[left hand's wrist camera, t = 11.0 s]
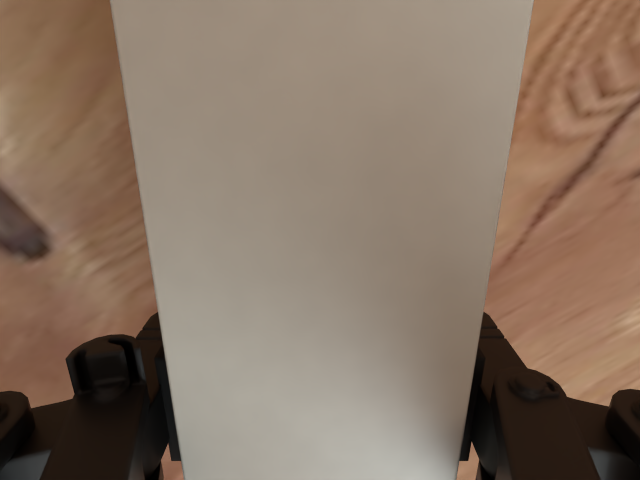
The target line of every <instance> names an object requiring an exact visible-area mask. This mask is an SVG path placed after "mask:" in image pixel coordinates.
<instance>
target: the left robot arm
mask: <svg viewBox="0 0 640 480" xmlns="http://www.w3.org/2000/svg"><path fill="white" fill-rule="evenodd" d="M66 363H67V367H68V370H69V374H70V378H71V382H72V386H73V389H74V393H75V394H74V397H73V399H70V400H66V401H63V402H59V403H54V404H49V405H45V406H40V407H35V408H31V407H30V404H29V400H28V397H26V396H25V395H24V394H23V393H21V392H15V391H5V392H0V480H163V479H164V476H163V470H162V464H161V459H162V456H163V454H164V451H165V449H166V447H167V444H168V443H169V449H170V455H171V461H181V456H180V450H179V443H178V437H177V430H176V424H175V417H174V411H173V405H172V398H171V392H170V385H169V379H168V372H167V366H166V359H165V353H164V347H163V340H162V334H161V327H160V321H159V314H158V312H157V313H156V314H154V315H153V316H151V317H150V318H149V320H148V321H147V323H146V324H145V325H144V327H143V330H141V331H140V332H139V334H138V335H137V337H136V339H135V338H134V337H132V336H128V335H124V334H119V335H107V336H103V337H98V338H95V339H93V340H90V341H88V342H86V343H83V344H82V345H80V346H79V347H77V348H76V349H74V350H73V351H72V352H71V353H70V354H69V355H68V357H67V358H66ZM471 441H472V443H473V445H474V448H475V450H476V453H477V455H478V457H479V464H478V469H477V475H476V480H640V390H634V389H626V390H620V391H618V392H616V393H615V394H614V395H613V396H612V399H611V402H610V405H609V407H608V406H603V405H599V404H594V403H589V402H585V401H580V400H576V399H573V398H569V397H567V396H566V394H565V392H564V391H563V389H562V388H561V386H560V385H559V384H558V383H556V382H555V381H554V380H553V379H551V378H550V377H549V376H546V375H544V374H542V373H540V372H538V371H536V370H532V369H528V368H527V367H526V366H525V364H524V363H523V362H522V360H521V359H520V358H519V356H518V355H517V353H516V352H515V351H514V349H513V348H512V346H511V345H510V344H509V342H508V341H507V340H506V339H504V335H503V334H502V333H501V331H500V330H499V329H497V326H496V324H495V323H494V322H493V320H492V319H491V317H490V316H489V315H488V314H486V313H485V312H483V317H482V323H481V329H480V336H479V342H478V348H477V354H476V360H475V366H474V373H473V379H472V385H471V391H470V397H469V403H468V410H467V416H466V422H465V428H464V434H463V440H462V447H461V453H460V459H459V461H468V459H469V453H470V447H471Z"/></svg>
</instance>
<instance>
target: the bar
mask: <svg viewBox="0 0 640 480" xmlns="http://www.w3.org/2000/svg"><path fill="white" fill-rule="evenodd" d="M533 2H534V0H110V5H111V12H112V18H113V24H114V31H115V37H116V44H117V50H118V57H119V63H120V70H121V76H122V82H123V89H124V95H125V102H126V108H127V115H128V121H129V128H130V134H131V140H132V147H133V153H134V160H135V166H136V173H137V179H138V186H139V192H140V198H141V205H142V211H143V218H144V224H145V231H146V237H147V244H148V250H149V256H150V263H151V269H152V276H153V282H154V289H155V295H156V301H157V308H158V314H159V321H160V327H161V334H162V340H163V347H164V353H165V359H166V366H167V372H168V379H169V385H170V392H171V398H172V405H173V411H174V417H175V424H176V430H177V437H178V443H179V450H180V456H181V463H182V469H183V475H184V480H456V478H457V471H458V465H459V459H460V453H461V447H462V440H463V434H464V428H465V422H466V416H467V410H468V403H469V397H470V391H471V385H472V379H473V373H474V366H475V360H476V354H477V348H478V342H479V336H480V329H481V323H482V317H483V311H484V305H485V298H486V292H487V286H488V280H489V274H490V268H491V261H492V255H493V249H494V243H495V237H496V231H497V224H498V218H499V212H500V206H501V200H502V194H503V187H504V181H505V175H506V169H507V163H508V156H509V150H510V144H511V138H512V132H513V126H514V119H515V113H516V107H517V101H518V95H519V89H520V82H521V76H522V70H523V64H524V58H525V52H526V45H527V39H528V33H529V27H530V21H531V14H532V8H533Z"/></svg>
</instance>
